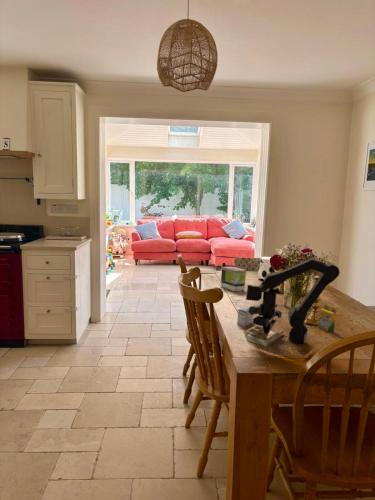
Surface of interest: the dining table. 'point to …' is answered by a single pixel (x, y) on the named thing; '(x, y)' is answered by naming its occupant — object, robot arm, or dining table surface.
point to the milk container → (265, 267)
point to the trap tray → (270, 337)
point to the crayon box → (327, 318)
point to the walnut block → (260, 335)
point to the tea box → (233, 278)
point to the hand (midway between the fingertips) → (266, 335)
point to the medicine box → (244, 316)
